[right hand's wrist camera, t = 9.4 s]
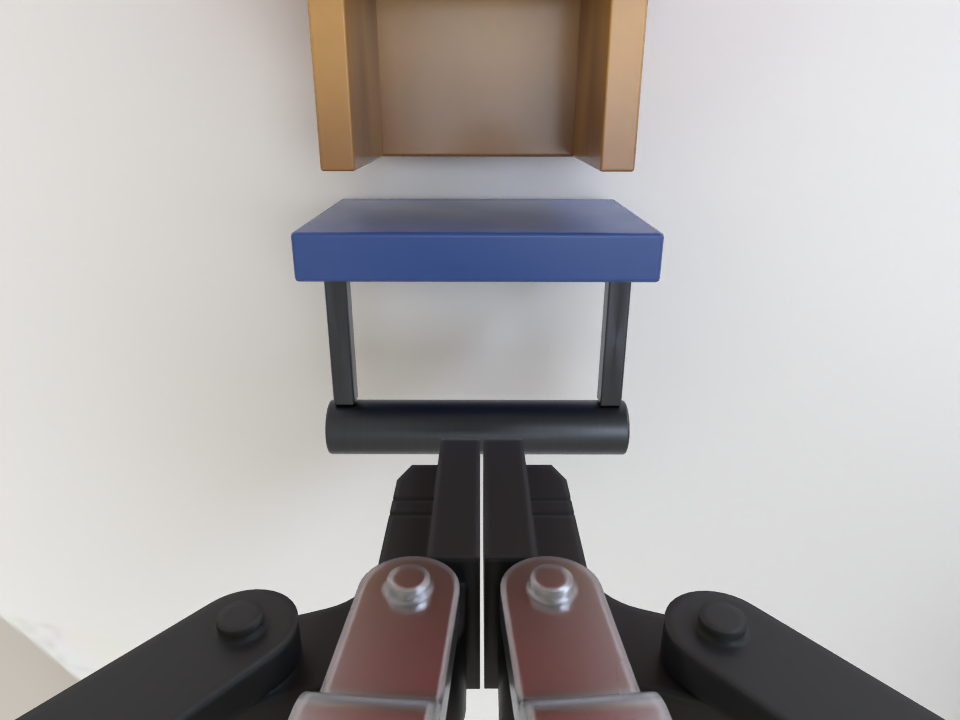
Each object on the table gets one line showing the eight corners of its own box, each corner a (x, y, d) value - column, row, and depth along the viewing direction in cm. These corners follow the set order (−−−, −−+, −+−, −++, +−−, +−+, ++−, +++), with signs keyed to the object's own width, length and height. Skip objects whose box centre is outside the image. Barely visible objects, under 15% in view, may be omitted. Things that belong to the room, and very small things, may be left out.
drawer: (601, 391, 24) (640, 483, 18) (354, 391, 24) (314, 483, 18) (666, -516, 16) (775, -883, 10) (291, -517, 16) (179, -885, 10)
